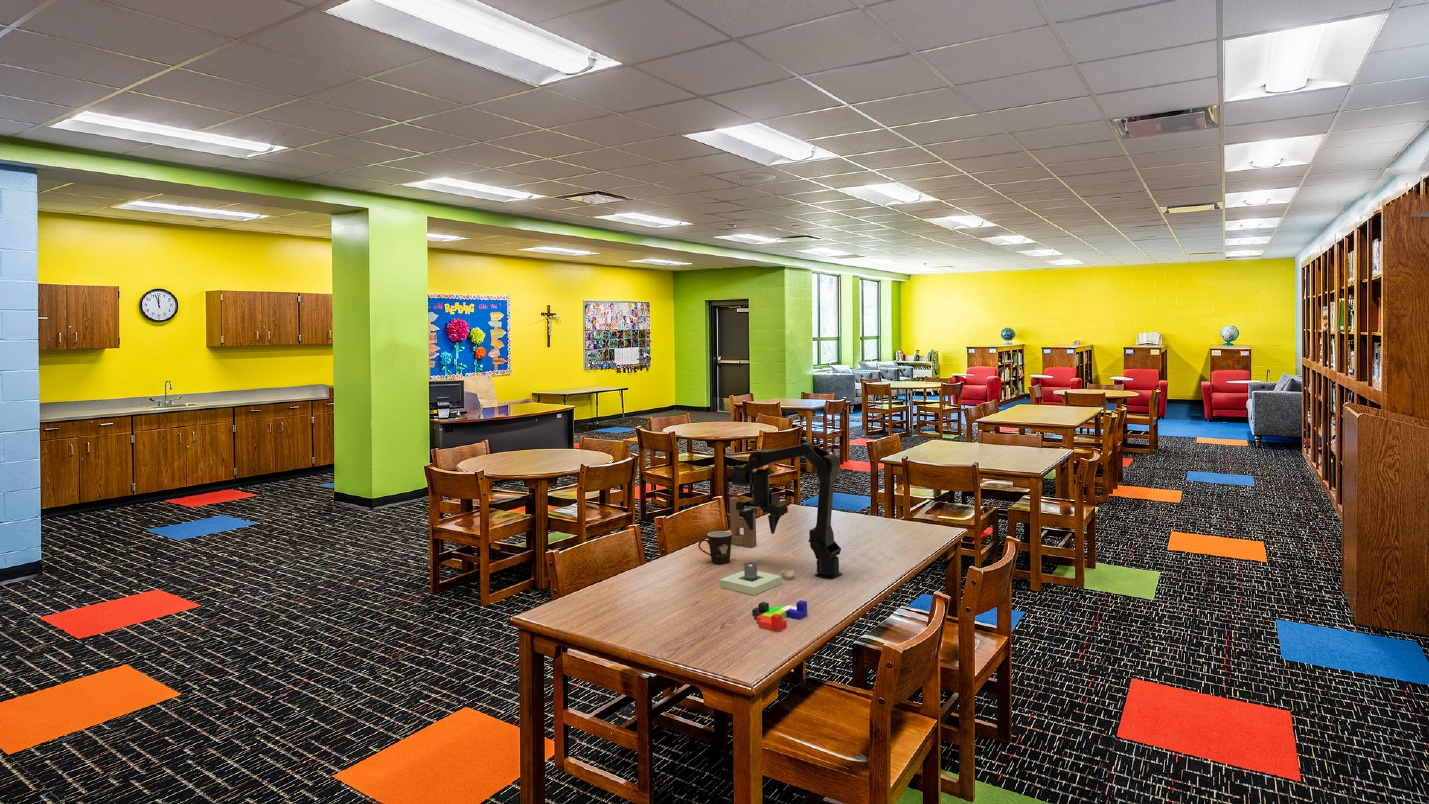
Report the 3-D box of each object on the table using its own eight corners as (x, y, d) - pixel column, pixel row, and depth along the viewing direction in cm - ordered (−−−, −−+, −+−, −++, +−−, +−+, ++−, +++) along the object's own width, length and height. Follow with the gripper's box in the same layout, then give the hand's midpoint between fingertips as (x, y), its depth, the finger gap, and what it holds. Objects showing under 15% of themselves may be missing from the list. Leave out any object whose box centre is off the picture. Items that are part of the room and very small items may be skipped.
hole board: (782, 583, 248) (781, 576, 248) (754, 595, 237) (754, 587, 237) (747, 576, 257) (747, 569, 257) (719, 587, 247) (719, 579, 247)
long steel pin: (760, 585, 247) (759, 563, 247) (752, 588, 245) (751, 566, 244) (750, 583, 250) (749, 561, 250) (742, 586, 247) (741, 564, 247)
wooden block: (751, 548, 293) (749, 500, 291) (728, 544, 299) (727, 498, 298) (757, 546, 296) (755, 499, 294) (734, 542, 302) (732, 496, 301)
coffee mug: (733, 558, 279) (732, 531, 279) (732, 565, 271) (731, 537, 270) (701, 558, 281) (700, 531, 280) (698, 565, 272) (697, 537, 271)
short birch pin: (796, 578, 254) (796, 570, 254) (789, 581, 251) (789, 573, 251) (786, 576, 257) (786, 568, 256) (779, 579, 254) (779, 571, 253)
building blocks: (769, 608, 227) (768, 593, 227) (807, 616, 219) (807, 601, 219) (739, 623, 215) (738, 608, 215) (778, 633, 207) (777, 617, 207)
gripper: (796, 485, 266) (798, 530, 267) (754, 480, 278) (755, 524, 279) (777, 491, 258) (778, 537, 259) (733, 485, 270) (735, 530, 271)
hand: (762, 532), depth 267 cm, fingers open, 9 cm apart
